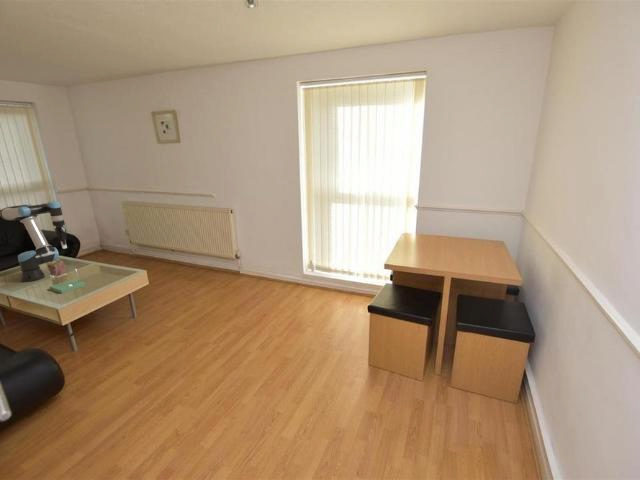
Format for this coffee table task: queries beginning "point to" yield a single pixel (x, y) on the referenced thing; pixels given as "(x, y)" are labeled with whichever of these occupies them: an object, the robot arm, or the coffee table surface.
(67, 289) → the green board
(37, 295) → the coffee table surface
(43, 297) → the coffee table surface
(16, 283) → the coffee table surface
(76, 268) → the pin
